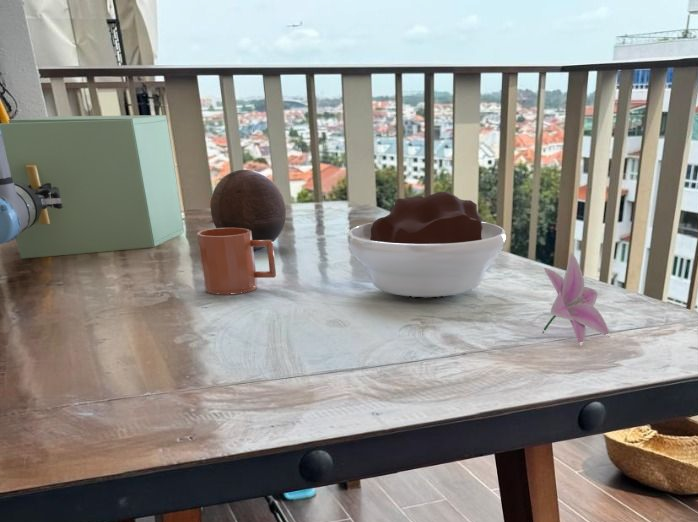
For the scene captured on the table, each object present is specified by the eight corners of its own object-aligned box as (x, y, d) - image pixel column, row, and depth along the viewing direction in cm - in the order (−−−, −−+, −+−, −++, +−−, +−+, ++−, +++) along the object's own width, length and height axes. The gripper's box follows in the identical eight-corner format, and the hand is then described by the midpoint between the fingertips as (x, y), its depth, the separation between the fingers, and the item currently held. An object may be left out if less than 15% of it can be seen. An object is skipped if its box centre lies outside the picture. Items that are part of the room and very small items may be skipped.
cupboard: (154, 247, 161) (132, 118, 148) (39, 246, 163) (8, 119, 151) (184, 232, 176) (166, 115, 163) (79, 232, 178) (53, 116, 166)
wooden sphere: (303, 248, 157) (297, 168, 150) (247, 259, 148) (237, 175, 140) (258, 240, 166) (249, 164, 158) (201, 250, 156) (190, 170, 148)
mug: (199, 295, 123) (191, 236, 119) (212, 283, 131) (204, 227, 126) (273, 294, 123) (267, 236, 118) (281, 282, 130) (275, 227, 126)
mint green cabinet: (158, 252, 155) (135, 120, 142) (21, 264, 145) (-16, 125, 133) (153, 246, 160) (130, 119, 148) (20, 258, 151) (-15, 123, 139)
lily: (531, 360, 96) (575, 297, 89) (498, 303, 102) (536, 241, 96) (599, 374, 102) (644, 316, 96) (563, 319, 108) (603, 262, 102)
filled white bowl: (388, 320, 109) (385, 207, 101) (328, 285, 128) (322, 188, 120) (533, 300, 118) (541, 195, 110) (456, 270, 137) (459, 179, 129)
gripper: (-29, 233, 127) (8, 213, 147) (64, 229, 129) (87, 210, 149) (-43, 184, 123) (-4, 170, 143) (52, 181, 125) (78, 168, 145)
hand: (43, 191), depth 146 cm, fingers closed on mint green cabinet, 2 cm apart
